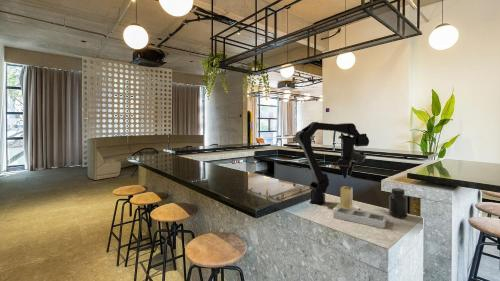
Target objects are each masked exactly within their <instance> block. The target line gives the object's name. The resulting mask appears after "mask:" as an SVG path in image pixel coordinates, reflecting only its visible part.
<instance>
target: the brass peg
mask: <svg viewBox="0 0 500 281" xmlns="http://www.w3.org/2000/svg"><path fill="white" fill-rule="evenodd" d="M353 188H354V187H353V186H347V185H346V186H345V185H343V186H342V187H340V199H339V200H340V203H339V204H340V207H344V208H349V209H352V206H353V194H354V193H353V192H354V191H353Z"/></svg>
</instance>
